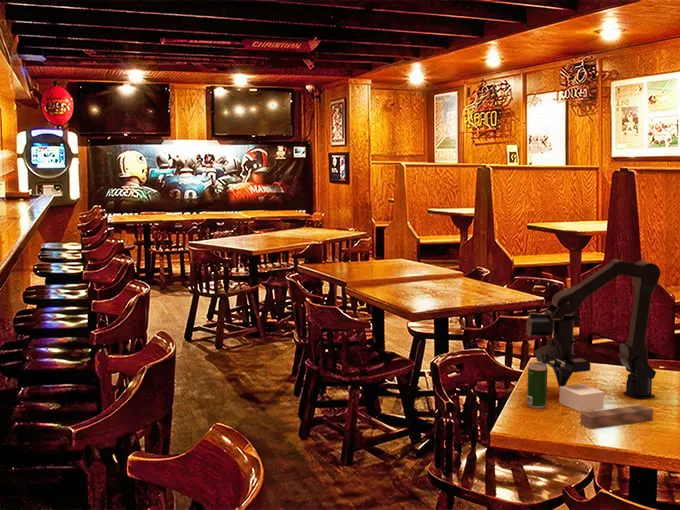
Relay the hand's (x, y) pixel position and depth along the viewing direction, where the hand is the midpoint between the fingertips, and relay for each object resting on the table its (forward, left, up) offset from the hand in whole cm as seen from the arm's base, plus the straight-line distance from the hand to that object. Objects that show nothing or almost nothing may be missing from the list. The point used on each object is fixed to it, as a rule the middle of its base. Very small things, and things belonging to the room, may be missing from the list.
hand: (561, 388), depth 225 cm
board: (0, +24, -2) cm, 24 cm away
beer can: (+12, +5, -3) cm, 13 cm away
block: (0, +9, -3) cm, 10 cm away
